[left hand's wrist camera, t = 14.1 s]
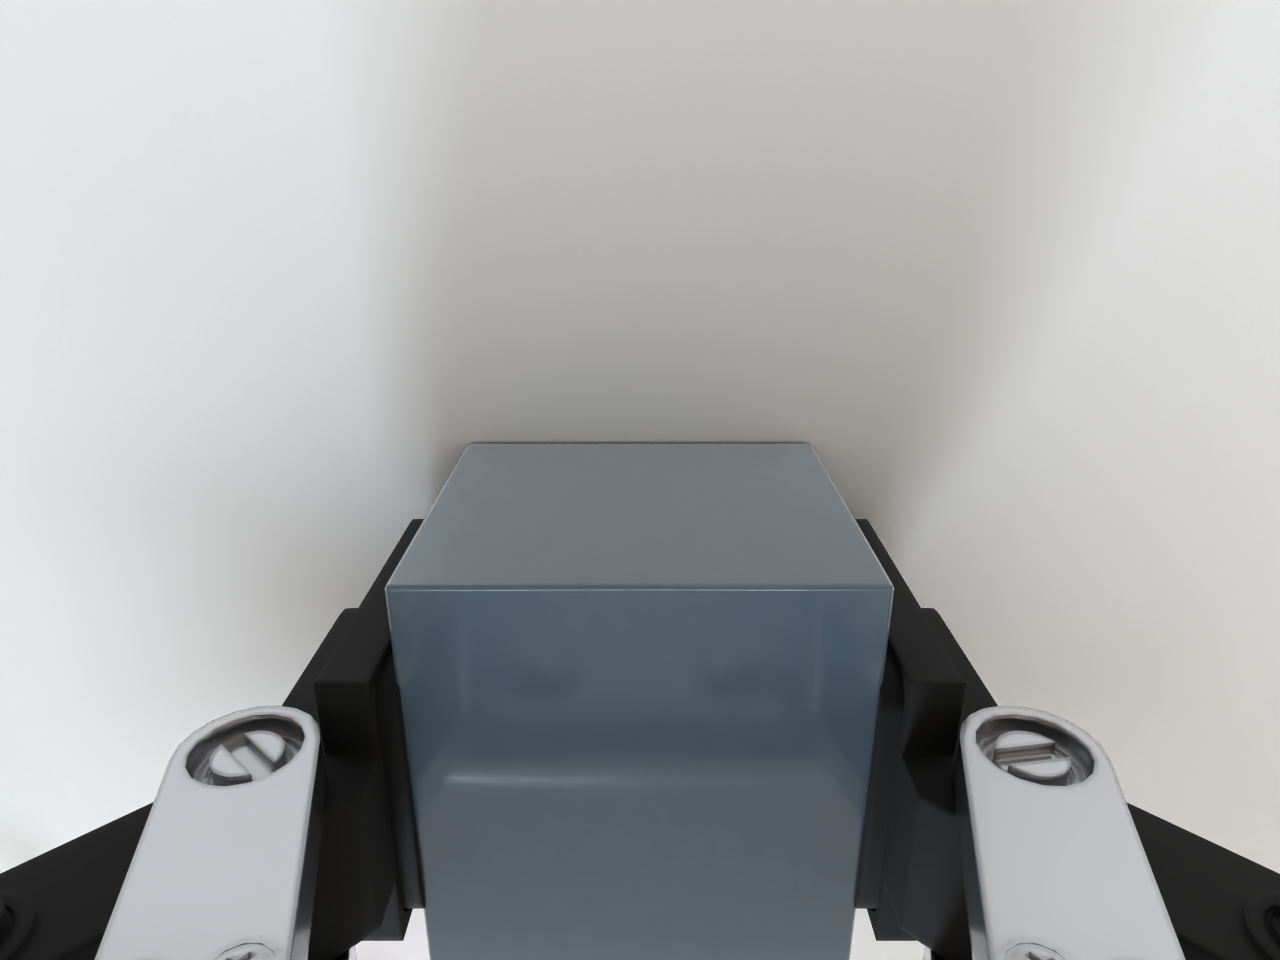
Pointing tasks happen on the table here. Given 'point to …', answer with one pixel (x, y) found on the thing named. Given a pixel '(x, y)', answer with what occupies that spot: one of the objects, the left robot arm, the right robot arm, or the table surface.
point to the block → (639, 702)
